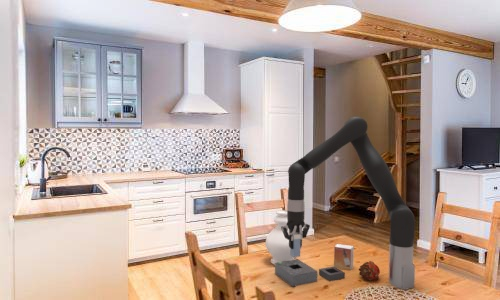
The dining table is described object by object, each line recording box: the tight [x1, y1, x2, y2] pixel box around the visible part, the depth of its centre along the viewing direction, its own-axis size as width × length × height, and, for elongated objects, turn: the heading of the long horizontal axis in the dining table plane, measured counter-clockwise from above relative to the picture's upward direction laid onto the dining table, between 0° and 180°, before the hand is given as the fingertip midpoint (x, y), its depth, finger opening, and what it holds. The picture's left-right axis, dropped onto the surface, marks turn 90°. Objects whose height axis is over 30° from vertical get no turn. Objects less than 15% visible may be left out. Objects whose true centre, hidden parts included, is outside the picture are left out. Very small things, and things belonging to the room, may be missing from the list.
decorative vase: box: [265, 209, 302, 266], centre depth 180 cm, size 18×18×25 cm
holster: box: [318, 265, 346, 282], centre depth 161 cm, size 8×8×3 cm
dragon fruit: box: [358, 260, 381, 281], centre depth 159 cm, size 8×8×12 cm
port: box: [274, 258, 318, 288], centre depth 161 cm, size 16×12×6 cm
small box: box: [333, 243, 355, 271], centre depth 172 cm, size 8×6×10 cm
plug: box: [290, 232, 301, 258], centre depth 160 cm, size 3×3×10 cm
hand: (295, 247), depth 160 cm, fingers closed on plug, 3 cm apart
